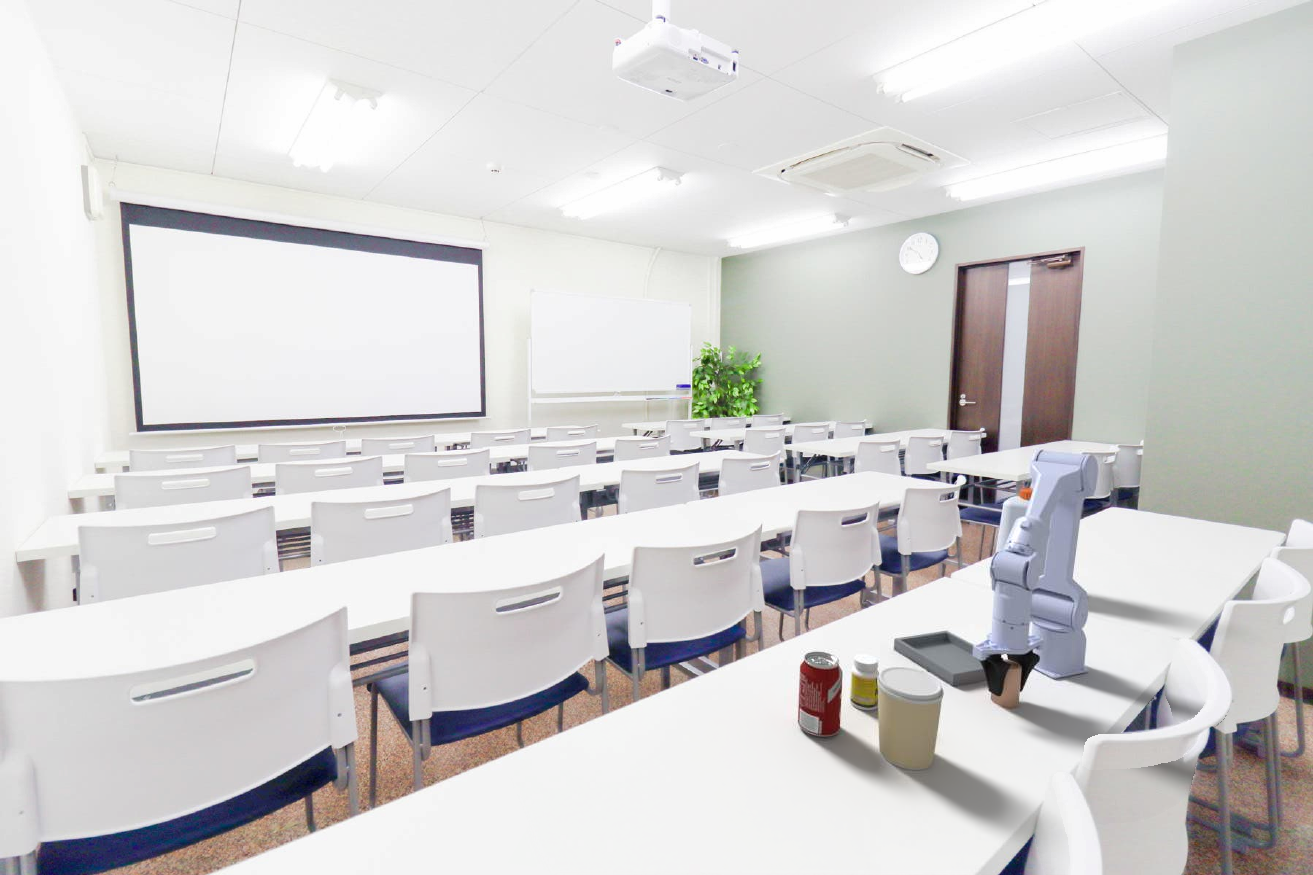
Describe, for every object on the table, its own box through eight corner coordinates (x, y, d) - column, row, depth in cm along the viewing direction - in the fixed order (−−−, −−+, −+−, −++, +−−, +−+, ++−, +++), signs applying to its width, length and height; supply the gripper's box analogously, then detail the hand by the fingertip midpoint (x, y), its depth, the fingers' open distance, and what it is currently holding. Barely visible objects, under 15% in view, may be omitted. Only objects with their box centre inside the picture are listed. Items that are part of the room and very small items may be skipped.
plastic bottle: (1063, 590, 166) (1071, 490, 163) (1051, 604, 155) (1060, 498, 152) (1001, 576, 176) (1008, 482, 173) (986, 589, 165) (994, 489, 162)
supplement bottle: (879, 712, 104) (882, 666, 103) (851, 709, 105) (853, 663, 104) (875, 698, 109) (877, 654, 108) (848, 695, 110) (850, 651, 109)
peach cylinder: (1003, 693, 111) (1006, 656, 110) (1024, 705, 107) (1027, 668, 106) (985, 697, 110) (987, 660, 109) (1005, 709, 106) (1008, 671, 105)
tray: (945, 640, 133) (946, 630, 133) (1008, 675, 118) (1009, 663, 118) (893, 649, 128) (894, 638, 128) (952, 686, 113) (953, 674, 113)
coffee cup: (915, 733, 98) (919, 663, 97) (952, 770, 89) (957, 694, 88) (862, 738, 97) (866, 667, 95) (894, 777, 87) (899, 699, 86)
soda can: (817, 744, 95) (820, 672, 94) (789, 722, 101) (791, 654, 100) (848, 733, 98) (852, 663, 97) (819, 712, 104) (822, 646, 103)
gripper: (1021, 605, 113) (1016, 674, 114) (961, 614, 108) (956, 686, 110) (1057, 620, 106) (1050, 693, 108) (994, 630, 102) (988, 706, 103)
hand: (1005, 691), depth 108 cm, fingers closed on peach cylinder, 4 cm apart
